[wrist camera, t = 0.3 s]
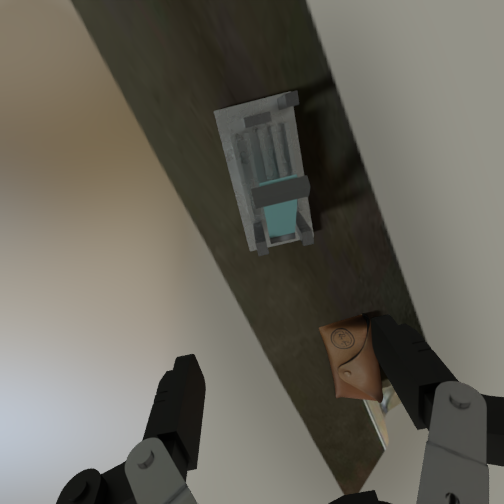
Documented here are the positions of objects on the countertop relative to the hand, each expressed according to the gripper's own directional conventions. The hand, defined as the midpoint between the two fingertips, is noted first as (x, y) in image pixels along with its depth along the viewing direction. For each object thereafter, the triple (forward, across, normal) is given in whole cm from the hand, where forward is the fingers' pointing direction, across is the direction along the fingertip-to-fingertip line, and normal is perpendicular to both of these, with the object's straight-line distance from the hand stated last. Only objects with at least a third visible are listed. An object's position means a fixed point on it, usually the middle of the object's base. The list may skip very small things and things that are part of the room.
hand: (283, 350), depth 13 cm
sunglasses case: (+28, -10, +32) cm, 44 cm away
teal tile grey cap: (+18, -2, 0) cm, 18 cm away
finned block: (+29, -2, -2) cm, 29 cm away
